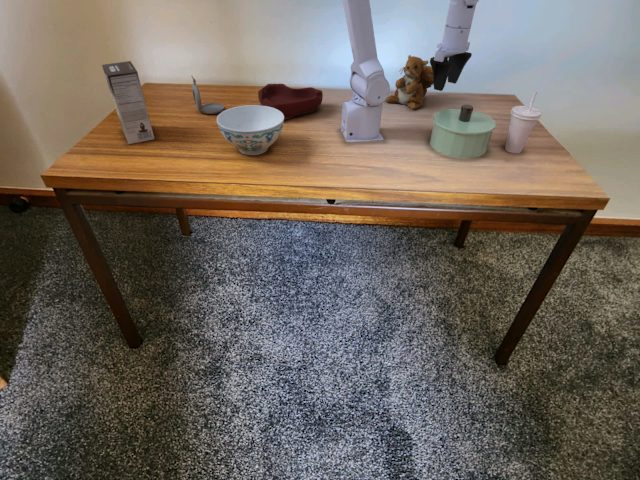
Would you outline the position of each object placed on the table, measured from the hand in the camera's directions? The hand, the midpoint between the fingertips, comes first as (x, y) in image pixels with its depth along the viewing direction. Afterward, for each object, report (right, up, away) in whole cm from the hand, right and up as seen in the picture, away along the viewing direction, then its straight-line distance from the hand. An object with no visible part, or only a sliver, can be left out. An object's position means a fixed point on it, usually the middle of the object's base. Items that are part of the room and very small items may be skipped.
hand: (445, 86), depth 100 cm
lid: (+2, -11, -7) cm, 14 cm away
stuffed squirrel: (-4, +3, +20) cm, 21 cm away
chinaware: (-47, -17, -6) cm, 51 cm away
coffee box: (-77, -13, -1) cm, 78 cm away
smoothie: (+15, -17, -4) cm, 23 cm away
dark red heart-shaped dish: (-41, -3, +12) cm, 43 cm away
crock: (+2, -16, -3) cm, 17 cm away
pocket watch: (-63, -3, +12) cm, 64 cm away
